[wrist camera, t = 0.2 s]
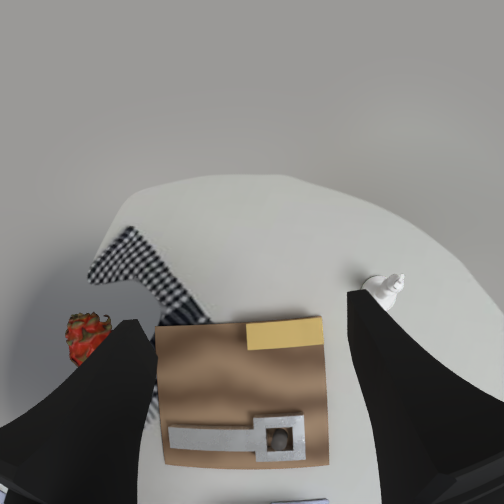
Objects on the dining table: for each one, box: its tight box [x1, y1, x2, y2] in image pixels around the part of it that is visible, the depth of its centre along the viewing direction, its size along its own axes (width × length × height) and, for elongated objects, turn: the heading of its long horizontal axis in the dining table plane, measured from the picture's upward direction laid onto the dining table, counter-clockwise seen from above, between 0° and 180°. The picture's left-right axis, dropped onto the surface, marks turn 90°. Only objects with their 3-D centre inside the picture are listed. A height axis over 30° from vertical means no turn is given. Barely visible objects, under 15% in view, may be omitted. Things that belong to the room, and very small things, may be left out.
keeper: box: [246, 318, 324, 350], centre depth 37 cm, size 3×8×4 cm, turn 94°
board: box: [155, 316, 329, 469], centre depth 36 cm, size 20×22×5 cm
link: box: [168, 412, 306, 462], centre depth 35 cm, size 17×6×2 cm, turn 94°
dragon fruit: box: [65, 312, 113, 367], centre depth 40 cm, size 8×8×12 cm
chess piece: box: [361, 274, 405, 311], centre depth 35 cm, size 5×5×10 cm
